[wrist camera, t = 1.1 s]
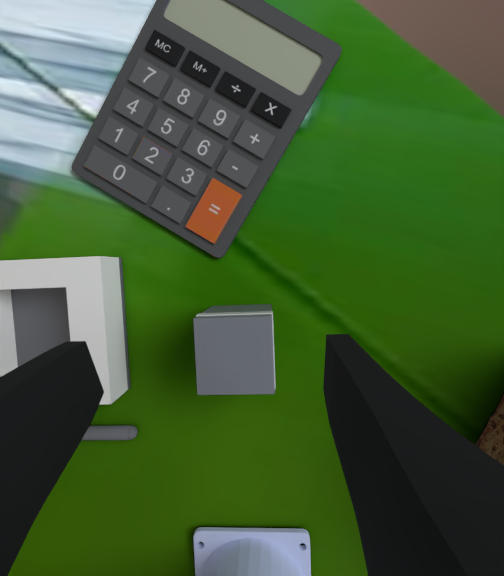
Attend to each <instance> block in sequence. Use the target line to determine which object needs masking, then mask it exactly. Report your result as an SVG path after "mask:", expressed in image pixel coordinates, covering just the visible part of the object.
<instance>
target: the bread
mask: <svg viewBox="0 0 504 576" xmlns="http://www.w3.org/2000/svg"><path fill="white" fill-rule="evenodd" d="M475 445H476V446H477V447H478V448H480V449H481V450H482V451H484V452H485V453H487V454H488V455H489V456H491V457H492V458H494V459H495V460H497V461H498V462H500V463H501V464H502V465H504V395H503V397H502V399H501V401H500V403H499V406H498V407H497V409H496V410H495V412H494V413H493V414H492V415H491V416H490V417H489V420H488V423H487V426H486V428H485V429H484V431H483V433H482V434H481V436H480V437H479V439H478V441H477V442H476V444H475Z"/></svg>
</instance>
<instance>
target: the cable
mask: <svg viewBox="0 0 504 576" xmlns="http://www.w3.org/2000/svg"><path fill="white" fill-rule="evenodd" d="M136 435H137V428H136V427H135V426H132V425H123V426H89V428H88V429H87V431H86V433H85V435H84V436H83V438H82V440H132V439H134V438H135V437H136Z"/></svg>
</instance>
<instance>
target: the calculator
mask: <svg viewBox="0 0 504 576" xmlns="http://www.w3.org/2000/svg"><path fill="white" fill-rule="evenodd" d="M341 51H342V50H341V46H340V45H338V44H337V43H335V42H334V41H332V40H330V39H329V38H327V37H325V36H323V35H322V34H320V33H318V32H316V31H315V30H313V29H311V28H309V27H308V26H306V25H304V24H302V23H301V22H299V21H297V20H296V19H294V18H292V17H290V16H289V15H287V14H285V13H283V12H282V11H280V10H278V9H276V8H275V7H273V6H271V5H269V4H268V3H266V2H264V1H262V0H157V1H156V3H155V5H154V7H153V8H152V10H151V12H150V14H149V16H148V18H147V20H146V22H145V24H144V26H143V28H142V30H141V32H140V34H139V36H138V38H137V40H136V42H135V43H134V45H133V47H132V49H131V51H130V53H129V55H128V57H127V59H126V61H125V63H124V65H123V67H122V69H121V71H120V73H119V75H118V76H117V78H116V80H115V82H114V84H113V86H112V88H111V90H110V92H109V94H108V96H107V98H106V100H105V102H104V104H103V106H102V108H101V110H100V111H99V113H98V115H97V117H96V119H95V121H94V123H93V125H92V127H91V129H90V131H89V133H88V135H87V137H86V139H85V141H84V143H83V145H82V146H81V148H80V150H79V152H78V154H77V156H76V158H75V160H74V162H73V164H72V171H73V172H75V173H76V174H77V175H79V176H81V177H82V178H84V179H86V180H87V181H89V182H91V183H92V184H94V185H96V186H97V187H99V188H101V189H102V190H104V191H106V192H107V193H109V194H111V195H113V196H114V197H116V198H118V199H119V200H121V201H123V202H124V203H126V204H128V205H129V206H131V207H133V208H134V209H136V210H138V211H139V212H141V213H143V214H144V215H146V216H148V217H149V218H151V219H153V220H154V221H156V222H158V223H159V224H161V225H163V226H164V227H166V228H168V229H169V230H171V231H173V232H174V233H176V234H178V235H179V236H181V237H183V238H184V239H186V240H188V241H189V242H191V243H193V244H194V245H196V246H198V247H199V248H201V249H203V250H204V251H206V252H208V253H209V254H211V255H213V256H214V257H217V258H222V257H223V256H224V255H225V254H226V252H227V250H228V249H229V247H230V245H231V243H232V242H233V240H234V238H235V236H236V235H237V233H238V231H239V230H240V228H241V226H242V224H243V223H244V221H245V219H246V218H247V216H248V214H249V212H250V211H251V209H252V207H253V205H254V204H255V202H256V200H257V199H258V197H259V195H260V193H261V192H262V190H263V188H264V187H265V185H266V183H267V181H268V180H269V178H270V176H271V174H272V173H273V171H274V169H275V168H276V166H277V164H278V162H279V161H280V159H281V157H282V156H283V154H284V152H285V150H286V149H287V147H288V145H289V143H290V142H291V140H292V138H293V137H294V135H295V133H296V131H297V130H298V128H299V126H300V125H301V123H302V121H303V119H304V118H305V116H306V114H307V112H308V111H309V109H310V107H311V106H312V104H313V102H314V100H315V99H316V97H317V95H318V94H319V92H320V90H321V88H322V87H323V85H324V83H325V81H326V80H327V78H328V76H329V75H330V73H331V71H332V69H333V68H334V66H335V64H336V63H337V61H338V59H339V57H340V54H341Z"/></svg>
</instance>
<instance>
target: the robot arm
mask: <svg viewBox="0 0 504 576" xmlns="http://www.w3.org/2000/svg"><path fill="white" fill-rule="evenodd" d="M323 389H324V395H325V401H326V407H327V413H328V418H329V423H330V427H331V430H332V434H333V437H334V441H335V445H336V448H337V452H338V455H339V458H340V462H341V465H342V469H343V472H344V476H345V479H346V483H347V486H348V490H349V493H350V496H351V500H352V503H353V507H354V511H355V515H356V519H357V523H358V527H359V531H360V536H361V541H362V546H363V551H364V556H365V561H366V566H367V571H368V576H504V465H502V464H501V463H500V462H498V461H497V460H495V459H494V458H492V457H491V456H489V455H488V454H487V453H485V452H484V451H482V450H481V449H480V448H478V447H477V446H476V445H474V444H473V443H472V442H470V441H469V440H468V439H466V438H465V437H463V436H462V435H461V434H459V433H458V432H457V431H455V430H454V429H453V428H451V427H450V426H449V425H447V424H446V423H445V422H444V421H442V420H441V419H440V418H439V417H437V416H436V415H435V414H434V413H432V412H431V411H430V410H429V409H428V408H426V407H425V406H424V405H423V404H422V403H420V402H419V401H418V400H417V399H416V398H414V397H413V396H412V395H411V394H410V393H409V392H408V391H406V390H405V389H404V388H403V387H402V386H401V385H400V384H399V383H398V382H397V381H396V380H394V379H393V378H392V377H391V376H390V375H389V374H388V373H387V372H386V371H385V370H384V369H383V368H382V367H381V366H380V365H379V364H378V363H377V362H376V361H375V360H374V359H373V358H372V357H371V356H370V355H369V354H368V353H367V352H366V351H365V350H364V349H363V348H362V347H361V346H360V345H359V344H358V343H357V342H356V341H355V340H354V339H353V338H352V337H351V336H350V335H349V334H333V335H326V352H325V370H324V387H323ZM103 394H104V390H103V387H102V384H101V382H100V379H99V376H98V374H97V371H96V368H95V365H94V363H93V360H92V357H91V355H90V352H89V349H88V346H87V344H86V341H70V342H64V343H62V344H60V345H58V346H56V347H54V348H52V349H50V350H48V351H46V352H44V353H42V354H41V355H39V356H37V357H35V358H33V359H31V360H30V361H28V362H26V363H24V364H23V365H21V366H19V367H17V368H15V369H14V370H12V371H10V372H8V373H7V374H5V375H3V376H1V377H0V576H7V575H8V573H9V571H10V569H11V567H12V565H13V563H14V561H15V559H16V557H17V555H18V553H19V550H20V548H21V546H22V544H23V542H24V540H25V538H26V536H27V534H28V532H29V530H30V528H31V526H32V524H33V522H34V520H35V518H36V517H37V515H38V513H39V511H40V509H41V507H42V506H43V504H44V502H45V500H46V499H47V497H48V495H49V494H50V492H51V490H52V489H53V487H54V485H55V484H56V482H57V480H58V479H59V477H60V475H61V474H62V472H63V470H64V469H65V467H66V465H67V463H68V462H69V460H70V458H71V457H72V455H73V453H74V452H75V450H76V448H77V447H78V445H79V443H80V441H81V440H82V438H83V436H84V435H85V433H86V431H87V429H88V428H89V426H90V424H91V422H92V420H93V417H94V415H95V413H96V411H97V408H98V406H99V404H100V401H101V399H102V396H103ZM193 542H194V559H195V576H311V558H310V537H309V533H308V531H307V530H305V529H297V528H222V527H199V528H197V529H196V530H195V532H194V536H193ZM200 542H203V544H202V543H200ZM302 543H304V544H305V545H300V544H302Z"/></svg>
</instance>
